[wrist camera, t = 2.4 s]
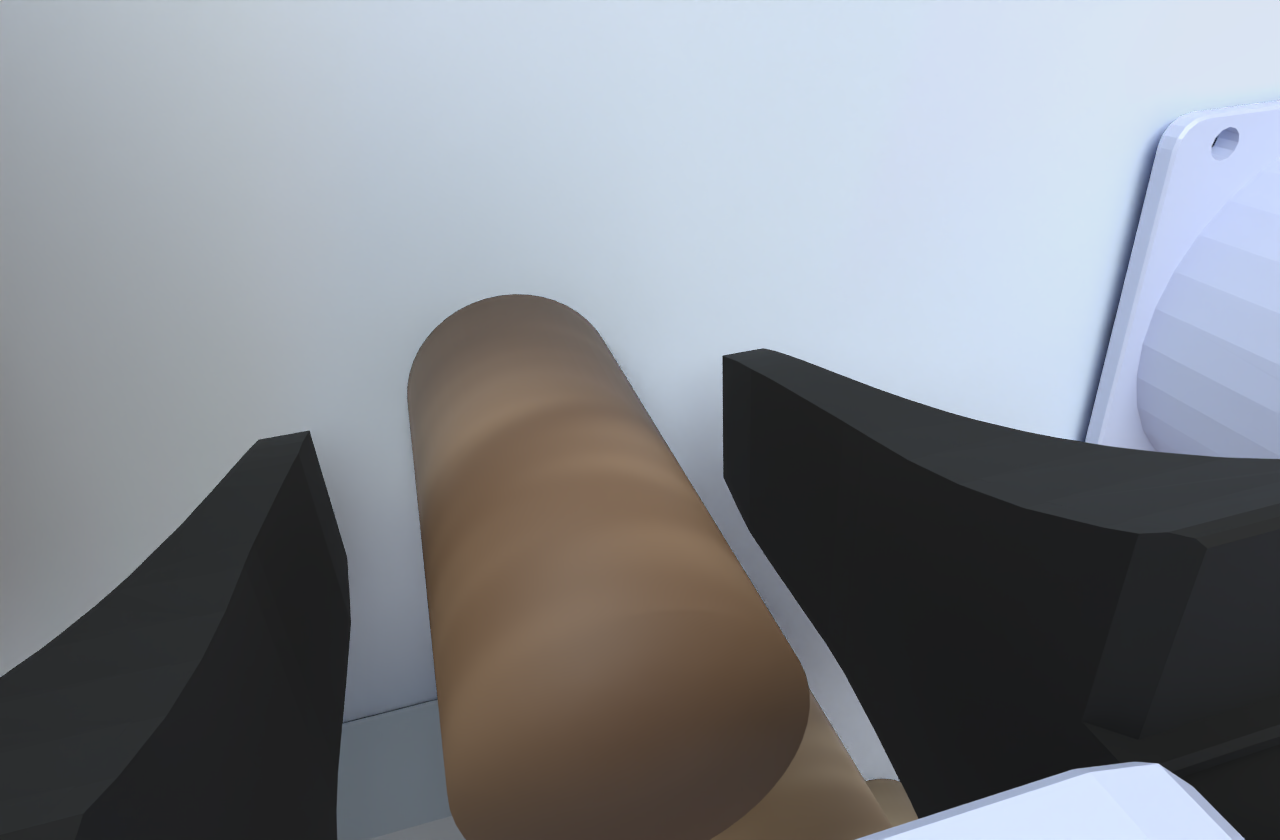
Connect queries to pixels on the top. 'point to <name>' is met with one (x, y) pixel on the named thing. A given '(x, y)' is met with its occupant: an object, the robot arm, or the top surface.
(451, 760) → the tall dowel
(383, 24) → the top surface
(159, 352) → the top surface
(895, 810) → the short dowel
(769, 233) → the top surface
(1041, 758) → the robot arm
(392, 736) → the hole board
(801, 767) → the mid dowel
